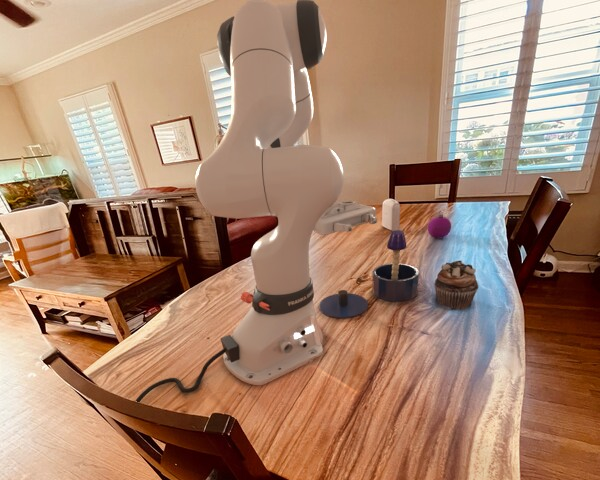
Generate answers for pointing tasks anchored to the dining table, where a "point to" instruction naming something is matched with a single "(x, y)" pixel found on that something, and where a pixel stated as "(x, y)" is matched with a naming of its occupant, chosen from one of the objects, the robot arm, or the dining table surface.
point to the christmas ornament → (439, 226)
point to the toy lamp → (396, 250)
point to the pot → (395, 283)
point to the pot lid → (343, 305)
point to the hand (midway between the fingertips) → (363, 224)
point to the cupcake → (456, 285)
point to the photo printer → (391, 214)
